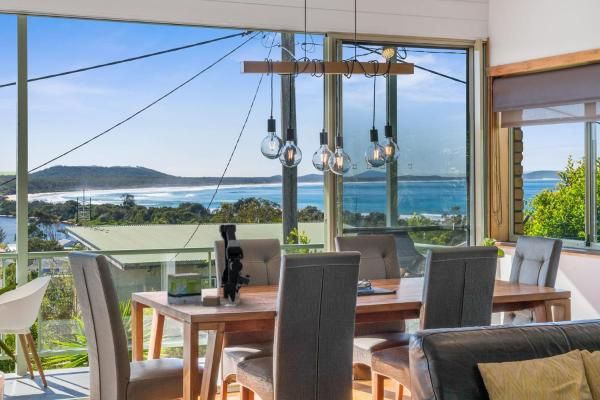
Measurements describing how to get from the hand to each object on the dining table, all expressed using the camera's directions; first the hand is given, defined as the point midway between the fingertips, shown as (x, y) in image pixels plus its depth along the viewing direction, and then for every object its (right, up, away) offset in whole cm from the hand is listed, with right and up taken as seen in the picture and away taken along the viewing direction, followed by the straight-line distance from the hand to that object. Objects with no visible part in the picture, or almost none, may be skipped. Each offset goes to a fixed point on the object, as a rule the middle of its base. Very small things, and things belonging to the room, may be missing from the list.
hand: (234, 300), depth 429 cm
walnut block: (-11, -1, -5) cm, 12 cm away
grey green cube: (0, -1, 0) cm, 1 cm away
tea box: (-26, -2, +7) cm, 27 cm away
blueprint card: (-1, -1, -8) cm, 8 cm away
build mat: (-8, -2, -3) cm, 8 cm away
